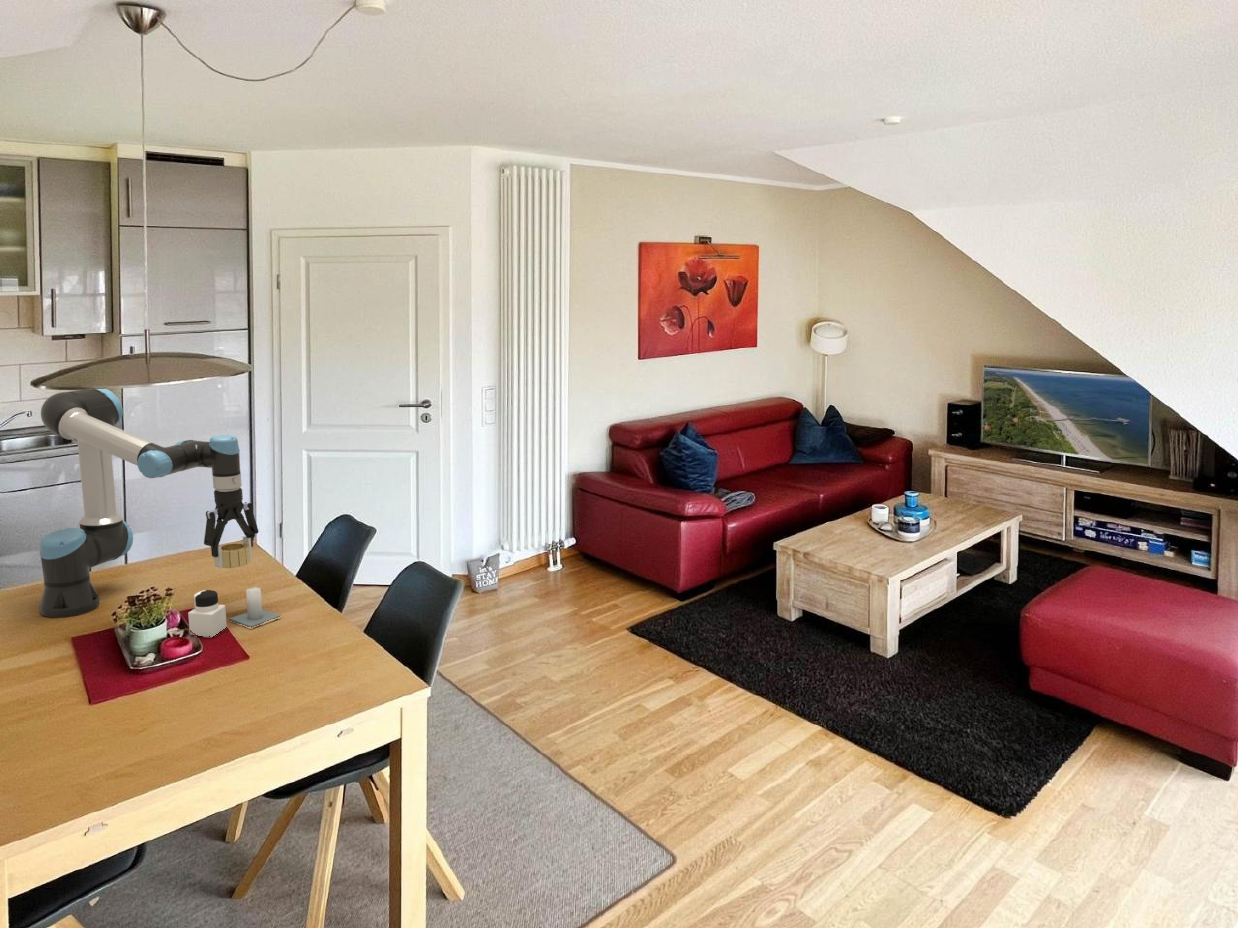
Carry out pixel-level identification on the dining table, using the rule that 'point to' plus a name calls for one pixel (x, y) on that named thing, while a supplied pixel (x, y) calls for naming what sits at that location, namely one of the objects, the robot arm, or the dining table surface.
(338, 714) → the dining table surface
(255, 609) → the post stand
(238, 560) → the ring
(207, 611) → the medicine bottle
